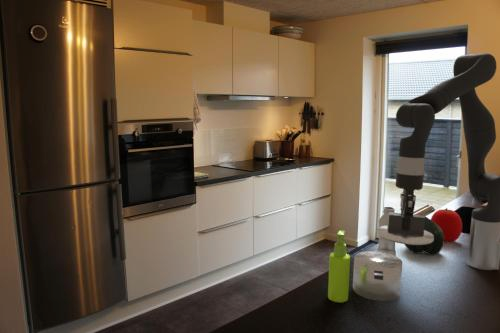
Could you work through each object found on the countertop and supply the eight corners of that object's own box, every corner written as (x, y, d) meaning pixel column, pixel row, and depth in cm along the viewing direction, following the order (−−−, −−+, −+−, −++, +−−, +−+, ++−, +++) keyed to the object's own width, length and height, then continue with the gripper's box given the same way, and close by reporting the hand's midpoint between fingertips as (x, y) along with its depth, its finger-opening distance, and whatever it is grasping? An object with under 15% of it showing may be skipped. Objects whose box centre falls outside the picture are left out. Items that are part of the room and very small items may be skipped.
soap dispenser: (349, 293, 125) (352, 229, 122) (346, 303, 119) (350, 236, 116) (329, 290, 127) (332, 227, 124) (326, 300, 121) (329, 234, 118)
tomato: (424, 240, 175) (427, 207, 173) (432, 234, 184) (435, 203, 182) (456, 247, 167) (459, 213, 165) (463, 240, 176) (467, 208, 174)
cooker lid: (429, 231, 130) (430, 211, 129) (438, 247, 115) (440, 224, 114) (376, 226, 134) (377, 206, 133) (378, 241, 119) (379, 219, 118)
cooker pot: (397, 279, 136) (399, 250, 134) (402, 309, 116) (405, 275, 115) (353, 274, 140) (355, 245, 138) (351, 302, 120) (353, 269, 118)
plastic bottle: (396, 265, 148) (400, 210, 145) (377, 263, 149) (380, 209, 146) (394, 258, 154) (397, 206, 151) (375, 257, 155) (378, 205, 152)
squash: (439, 249, 149) (444, 212, 156) (396, 243, 157) (403, 208, 164) (442, 264, 159) (447, 230, 166) (402, 258, 167) (408, 225, 174)
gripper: (427, 176, 114) (421, 237, 117) (420, 169, 128) (415, 224, 130) (398, 174, 116) (393, 234, 118) (394, 168, 129) (390, 221, 132)
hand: (405, 228), depth 124 cm, fingers closed on cooker lid, 3 cm apart
